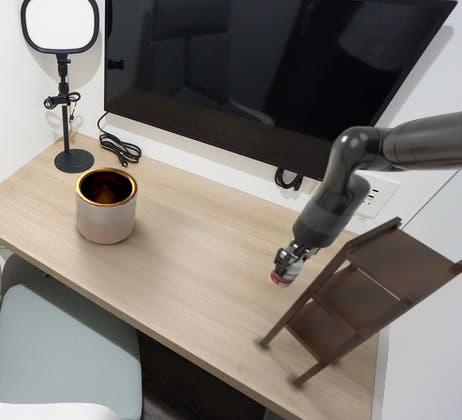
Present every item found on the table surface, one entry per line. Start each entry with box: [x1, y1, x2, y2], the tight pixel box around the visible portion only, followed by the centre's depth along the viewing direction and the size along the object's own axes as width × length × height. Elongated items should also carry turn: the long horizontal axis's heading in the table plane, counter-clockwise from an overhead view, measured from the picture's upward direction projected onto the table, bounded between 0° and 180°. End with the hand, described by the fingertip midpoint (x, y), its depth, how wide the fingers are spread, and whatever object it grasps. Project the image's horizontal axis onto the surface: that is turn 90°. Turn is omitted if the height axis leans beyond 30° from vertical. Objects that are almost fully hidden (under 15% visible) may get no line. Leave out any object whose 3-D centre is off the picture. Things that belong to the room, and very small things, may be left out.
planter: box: [74, 166, 139, 245], centre depth 92 cm, size 18×18×16 cm
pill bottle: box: [268, 253, 304, 289], centre depth 74 cm, size 5×5×8 cm
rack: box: [258, 215, 462, 389], centre depth 57 cm, size 10×12×36 cm
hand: (286, 270), depth 74 cm, fingers closed on pill bottle, 4 cm apart
